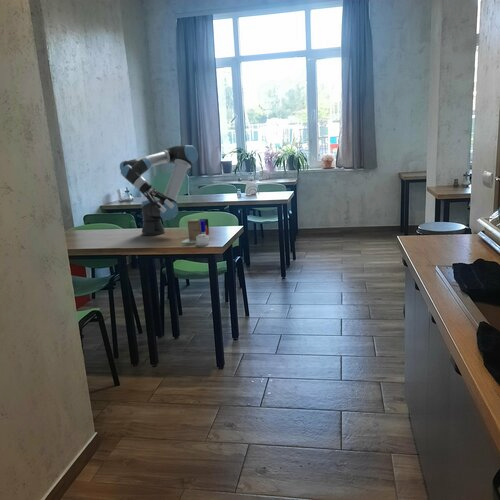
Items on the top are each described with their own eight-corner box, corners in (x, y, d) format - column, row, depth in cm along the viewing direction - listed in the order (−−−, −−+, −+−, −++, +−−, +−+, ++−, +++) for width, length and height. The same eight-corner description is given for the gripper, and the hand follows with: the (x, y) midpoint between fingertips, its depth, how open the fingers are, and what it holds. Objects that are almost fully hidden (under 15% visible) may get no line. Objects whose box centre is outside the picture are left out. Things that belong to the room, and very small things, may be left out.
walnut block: (192, 238, 287) (190, 219, 285) (201, 238, 286) (200, 219, 283) (189, 240, 282) (187, 221, 279) (198, 240, 280) (197, 221, 278)
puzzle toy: (204, 237, 294) (203, 221, 292) (189, 237, 296) (188, 221, 294) (209, 233, 303) (207, 218, 301) (194, 234, 306) (193, 219, 303)
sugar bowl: (199, 243, 276) (198, 233, 274) (210, 243, 274) (209, 233, 273) (195, 246, 269) (194, 236, 268) (206, 245, 268) (205, 236, 266)
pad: (188, 238, 292) (188, 237, 292) (210, 238, 289) (210, 237, 289) (181, 243, 279) (180, 242, 279) (203, 243, 276) (203, 242, 276)
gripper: (147, 187, 294) (172, 210, 295) (130, 193, 270) (157, 217, 271) (154, 178, 292) (179, 201, 292) (137, 183, 268) (165, 208, 269)
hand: (169, 209), depth 282 cm, fingers open, 13 cm apart
